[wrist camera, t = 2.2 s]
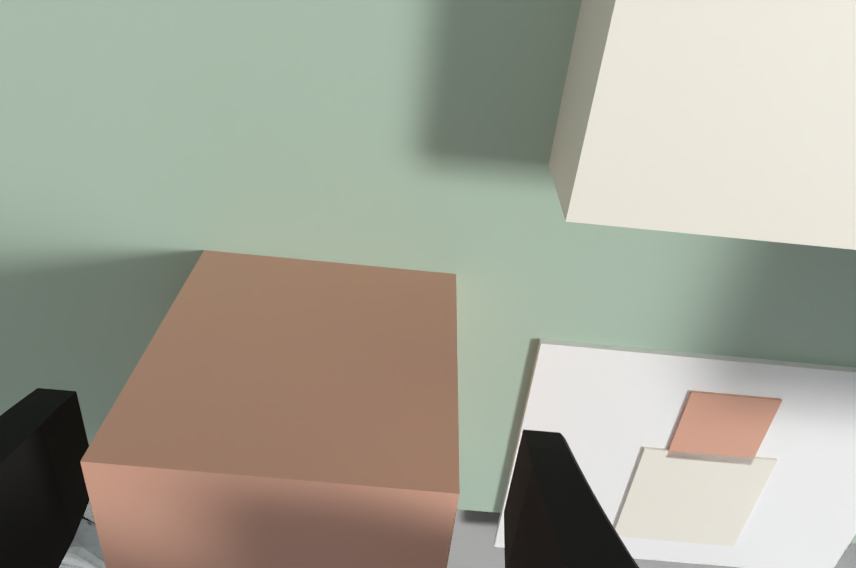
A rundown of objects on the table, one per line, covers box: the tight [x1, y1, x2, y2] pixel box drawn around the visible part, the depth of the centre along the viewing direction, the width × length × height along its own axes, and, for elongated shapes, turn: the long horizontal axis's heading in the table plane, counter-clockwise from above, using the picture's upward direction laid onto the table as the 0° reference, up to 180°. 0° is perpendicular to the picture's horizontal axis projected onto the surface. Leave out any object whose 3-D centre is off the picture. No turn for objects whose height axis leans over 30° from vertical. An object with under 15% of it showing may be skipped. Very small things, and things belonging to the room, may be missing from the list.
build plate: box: [0, 0, 856, 543], centre depth 12 cm, size 16×23×1 cm
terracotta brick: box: [80, 250, 460, 568], centre depth 12 cm, size 4×4×5 cm
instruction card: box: [494, 338, 856, 568], centre depth 15 cm, size 6×8×1 cm
